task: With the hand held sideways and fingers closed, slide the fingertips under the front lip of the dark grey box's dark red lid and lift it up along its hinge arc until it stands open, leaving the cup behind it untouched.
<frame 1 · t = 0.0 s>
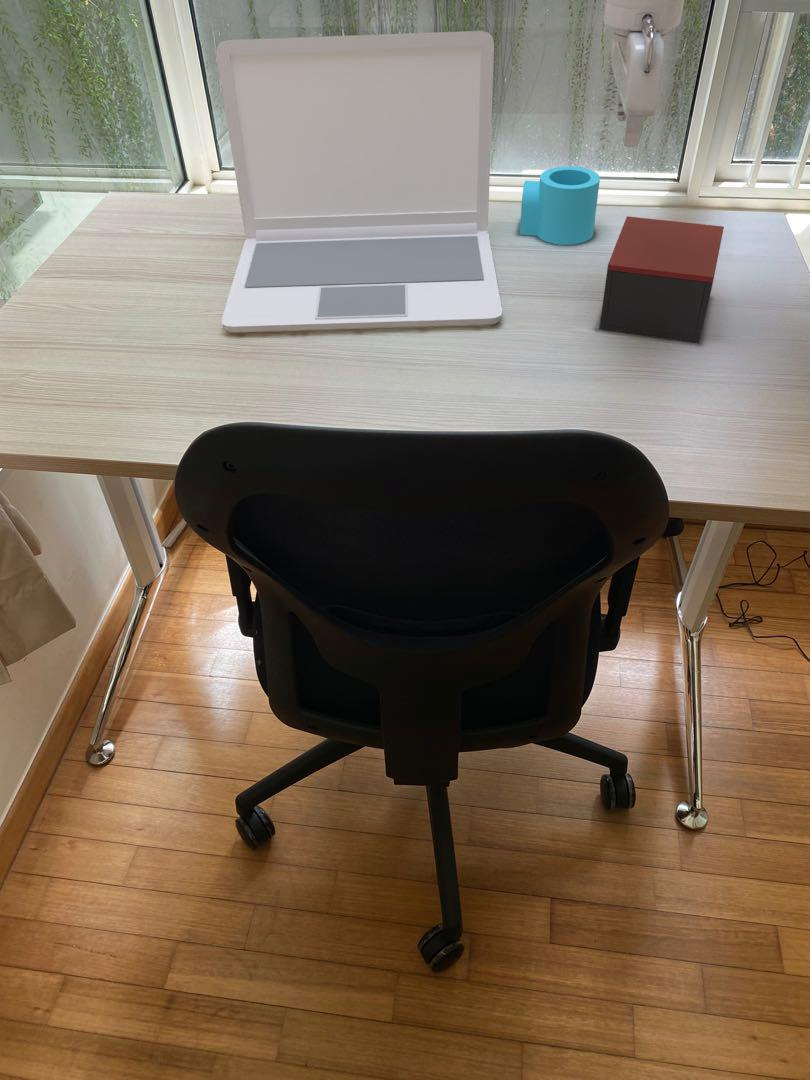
hand: (626, 131, 110), 24 cm above the table, tool pointing down, fingers open, 8 cm apart
lid: (667, 247, 120), point 9 cm above the table, hinge at 0.0°
cup: (556, 233, 146), on the table
dark grey box: (655, 313, 125), on the table
laptop: (364, 283, 135), on the table
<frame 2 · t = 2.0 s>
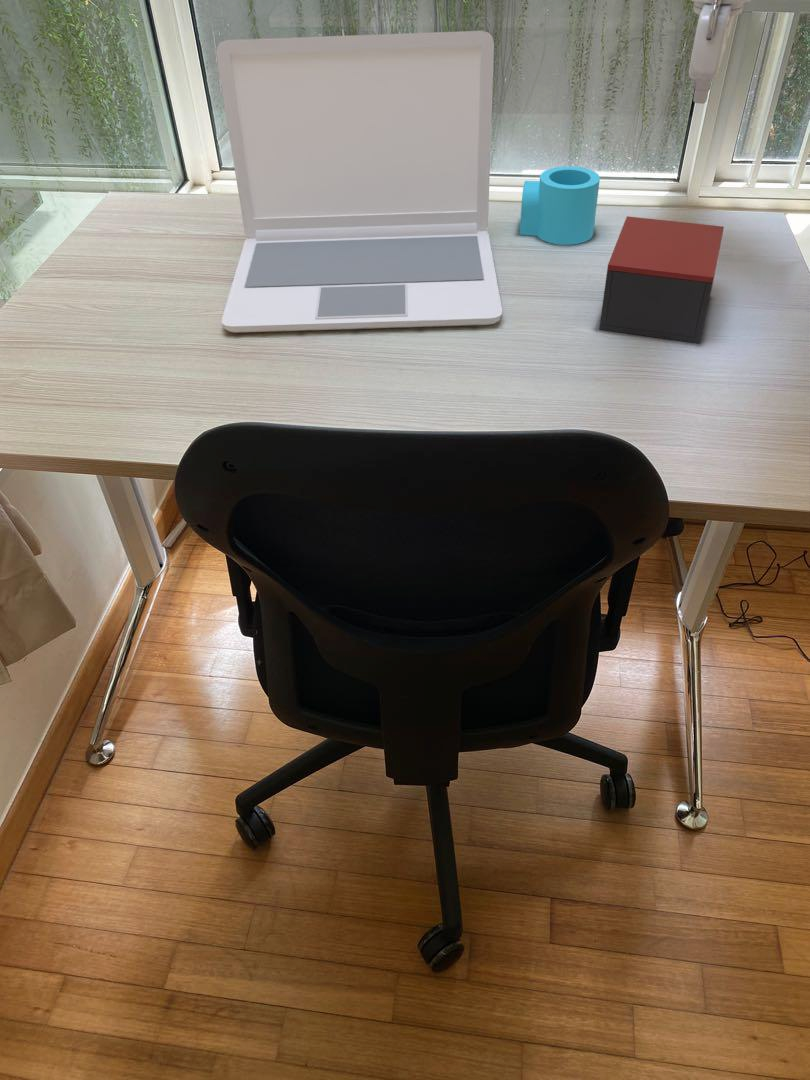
hand: (701, 96, 123), 23 cm above the table, tool pointing down, fingers open, 4 cm apart
nothing on the table moved.
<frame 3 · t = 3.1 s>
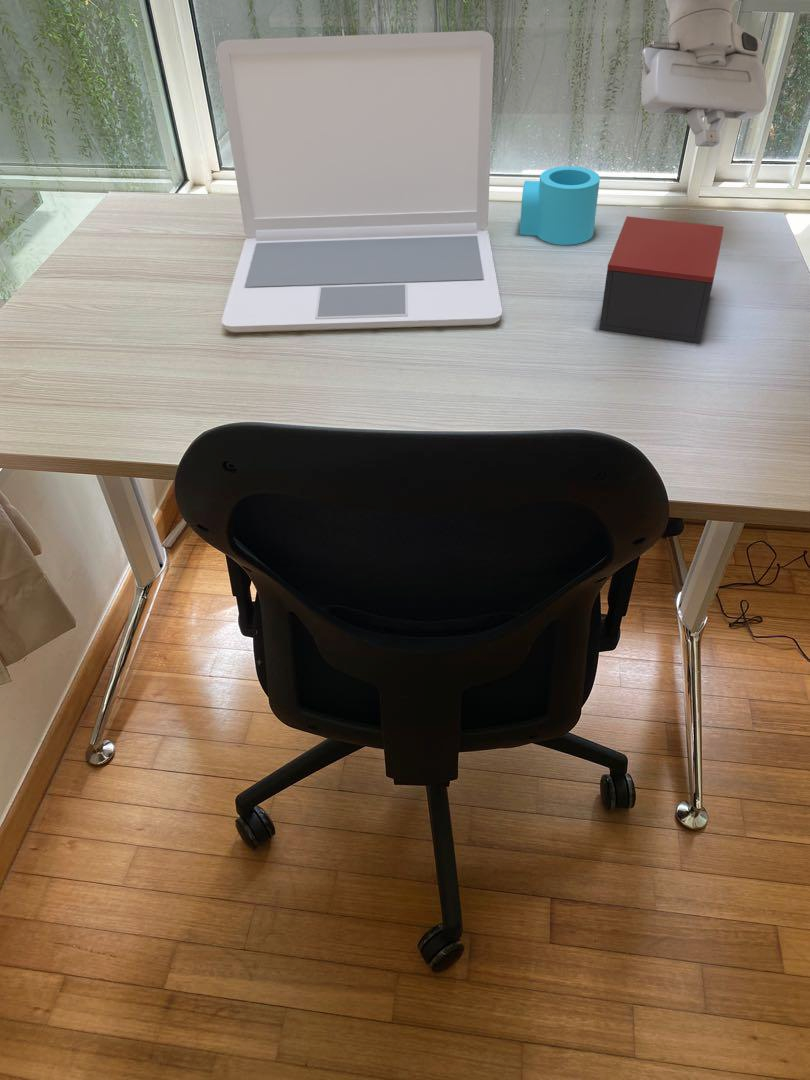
hand: (707, 145, 127), 17 cm above the table, tool tilted 40°, fingers closed
nothing on the table moved.
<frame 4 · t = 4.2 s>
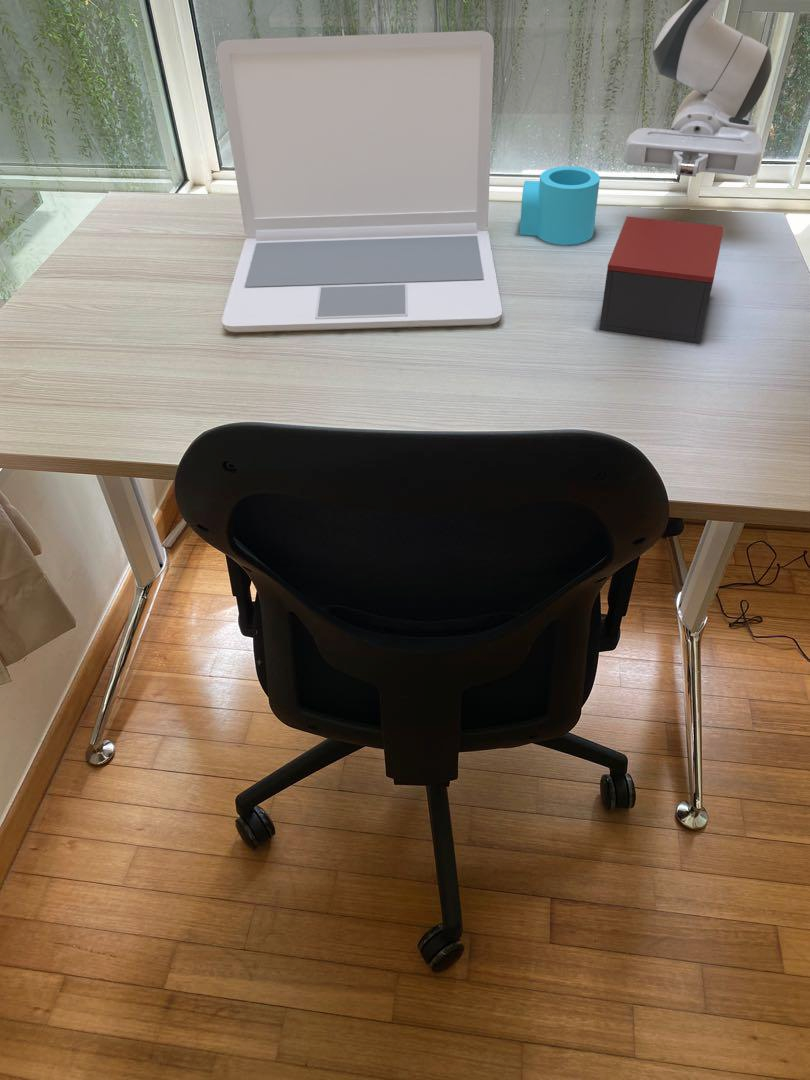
hand: (686, 170, 130), 13 cm above the table, tool horizontal, fingers closed
nothing on the table moved.
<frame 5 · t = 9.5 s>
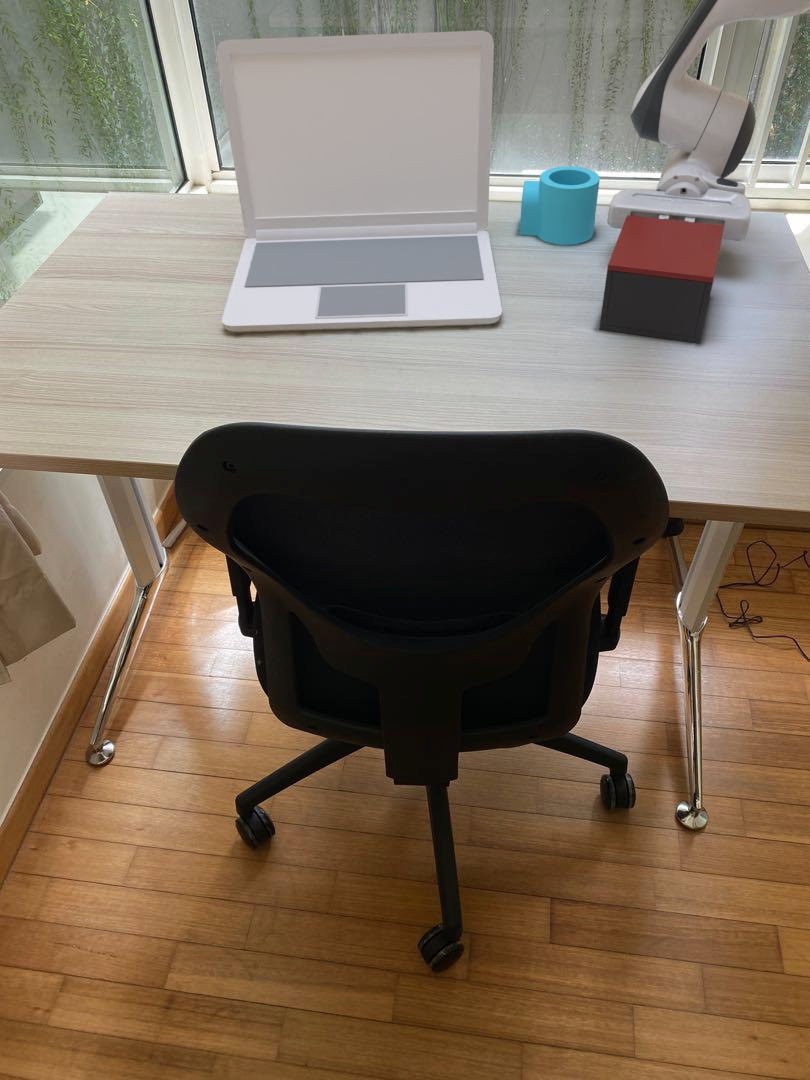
hand: (672, 236, 125), 8 cm above the table, tool horizontal, fingers closed, pressing on lid
lid: (667, 247, 120), point 9 cm above the table, hinge at 0.6°, touching gripper
everything else where it was.
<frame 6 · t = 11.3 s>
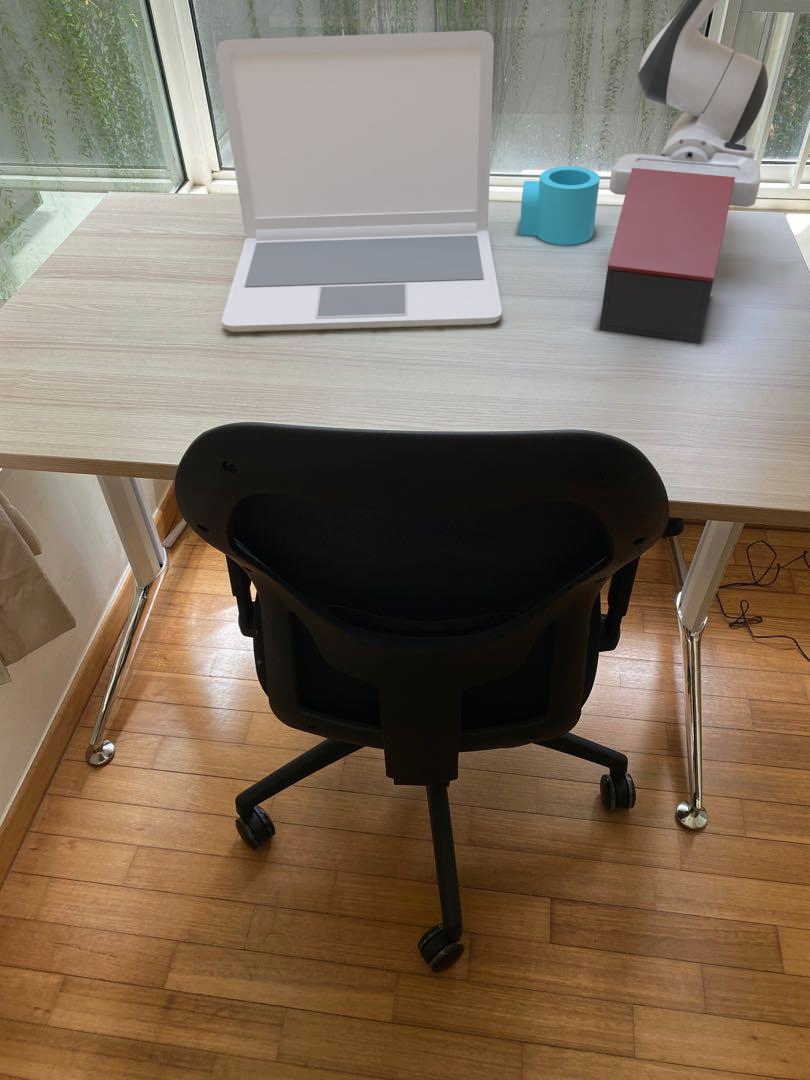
hand: (677, 201, 119), 14 cm above the table, tool horizontal, fingers closed
lid: (671, 223, 116), point 13 cm above the table, hinge at 28.6°, touching gripper
everything else where it was.
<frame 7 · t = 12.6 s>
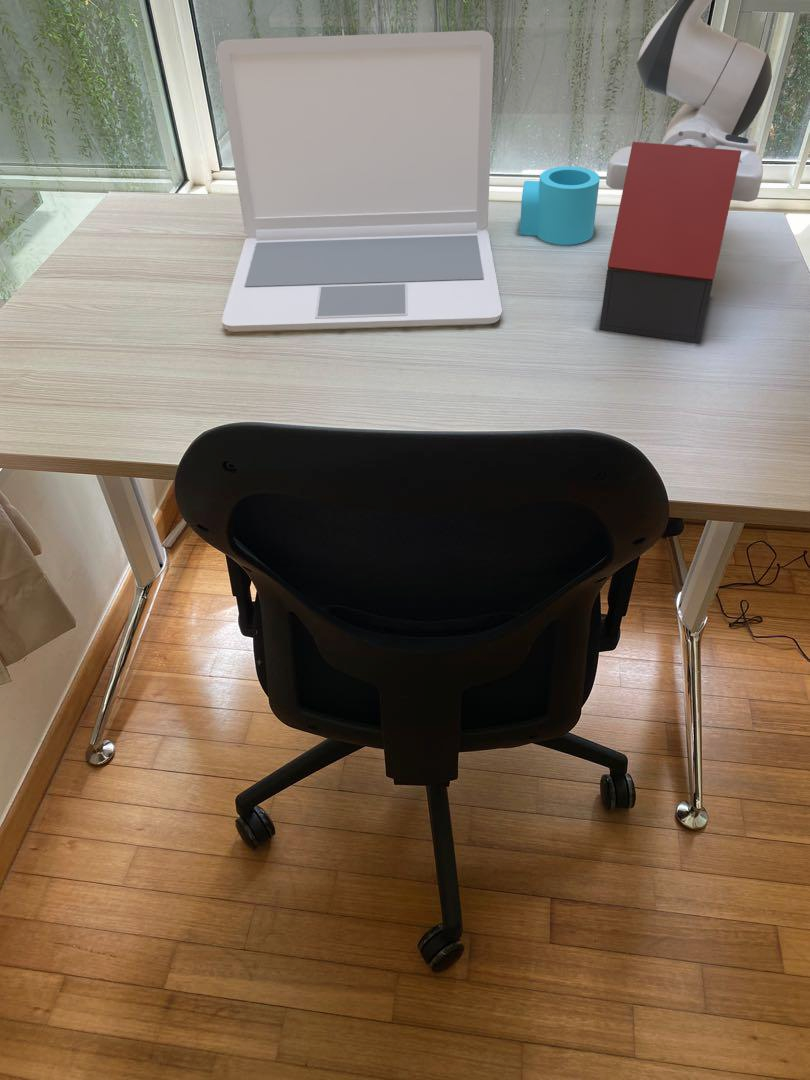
hand: (676, 196, 114), 17 cm above the table, tool horizontal, fingers closed, pressing on lid
lid: (672, 210, 113), point 16 cm above the table, hinge at 52.0°, touching gripper
everything else where it was.
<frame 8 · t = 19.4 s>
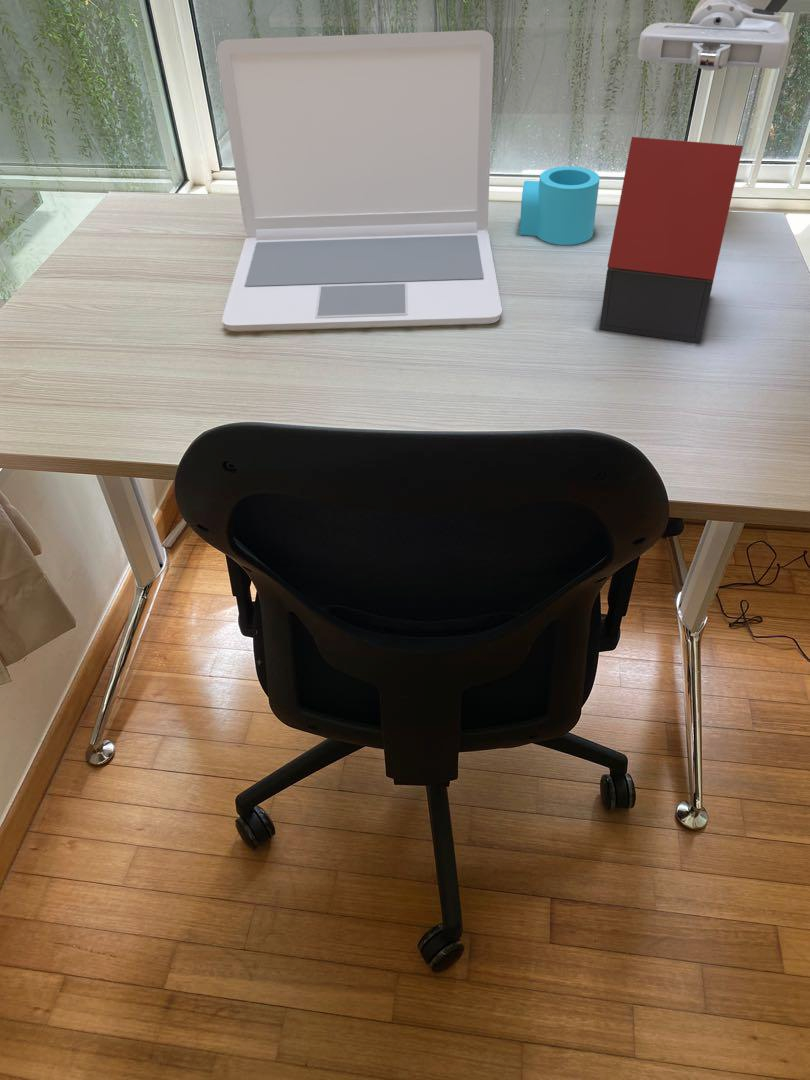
hand: (707, 60, 119), 28 cm above the table, tool horizontal, fingers closed
lid: (672, 208, 112), point 16 cm above the table, hinge at 59.9°
everything else where it was.
at the end: lid at +60° (first picture: +0°); lid reached +60° during the clip, +60° at the end; cup 0.0 cm from the target spot on the table beside the dark grey box, on the table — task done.
